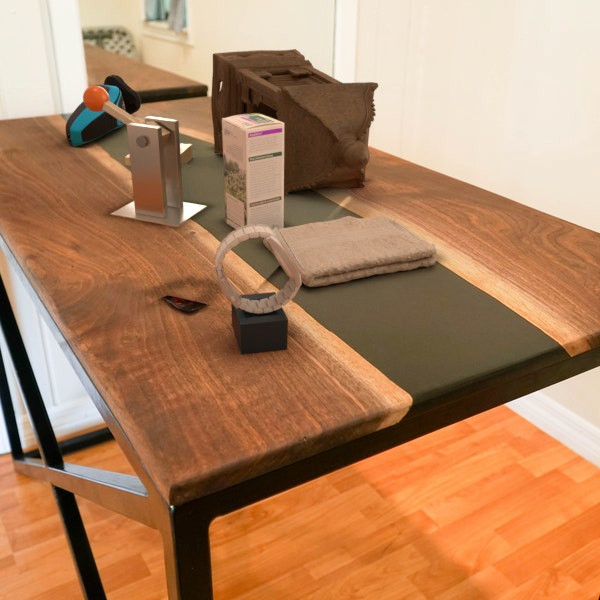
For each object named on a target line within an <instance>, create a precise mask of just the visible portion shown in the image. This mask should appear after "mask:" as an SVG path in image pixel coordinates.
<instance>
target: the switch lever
mask: <svg viewBox="0 0 600 600" xmlns="http://www.w3.org/2000/svg"><path fill="white" fill-rule="evenodd" d="M83 101H84V104H85V106H86V107H87V108H88V109H89V110H91V111H94V112H101V111H103V110H104V111H106V112H107V113H109V114H110V115H112V116H113V117H115V118H116V119H118V120H120V121H121V122H123V123H124V125H126V126H127V124H129V123H136V124H144V125H151V126H158V127H161V126H160V125H158V124H157V123H155V122H154V121H151V122H148V123H146V124H145V122H142V121H141V120H139V119H138V118H136V117H135V116H134V115H133V114H131V115H130V114H129V113H127V112H125V111H124V110H122V109H121V108H119V107H118V106H116V105H115V104H113V103H112V102H110V101H109V95H108V93H107V92H106V90H105V89H103V88H102V87H100V86H94V85H90V86H89V87H87V88H86V89H85V90H84V91H83V94H82V102H83ZM169 134H170V132H169V131H167V130H166V129H164V128H163V127H162V140H163V148H165V145H166V143H167V140H168V137H169Z"/></svg>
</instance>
